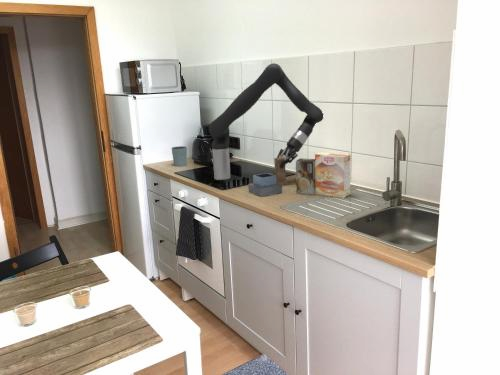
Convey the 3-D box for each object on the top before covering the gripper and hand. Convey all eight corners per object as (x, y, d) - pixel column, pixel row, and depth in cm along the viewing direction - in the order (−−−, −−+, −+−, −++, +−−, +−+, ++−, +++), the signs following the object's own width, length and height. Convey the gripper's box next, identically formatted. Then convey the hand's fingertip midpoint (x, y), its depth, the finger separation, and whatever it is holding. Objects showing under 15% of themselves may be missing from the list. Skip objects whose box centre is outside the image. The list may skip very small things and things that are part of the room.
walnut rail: (275, 184, 224) (274, 158, 220) (281, 183, 226) (280, 157, 222) (279, 185, 220) (278, 159, 217) (285, 184, 222) (285, 158, 219)
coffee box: (318, 191, 206) (318, 159, 202) (314, 195, 201) (313, 161, 197) (300, 190, 211) (300, 158, 207) (295, 193, 205) (295, 160, 201)
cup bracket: (248, 191, 212) (247, 175, 210) (269, 187, 218) (268, 171, 215) (260, 197, 202) (260, 179, 200) (282, 192, 207) (281, 175, 205)
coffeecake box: (314, 194, 202) (314, 153, 197) (321, 190, 208) (321, 151, 203) (344, 198, 193) (344, 156, 188) (350, 194, 199) (351, 153, 194)
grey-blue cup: (175, 163, 291) (173, 146, 288) (189, 163, 290) (188, 145, 287) (171, 166, 281) (169, 148, 278) (186, 166, 280) (184, 148, 277)
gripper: (285, 135, 227) (266, 160, 224) (300, 137, 214) (281, 164, 212) (293, 143, 230) (275, 169, 228) (309, 147, 218) (290, 173, 216)
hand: (278, 166), depth 220 cm, fingers closed on walnut rail, 4 cm apart
